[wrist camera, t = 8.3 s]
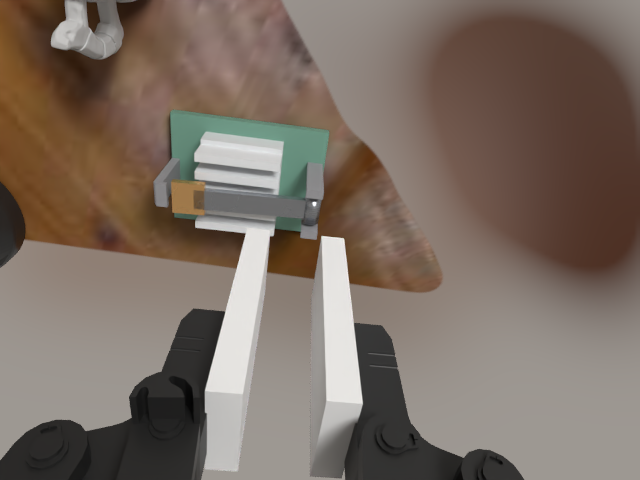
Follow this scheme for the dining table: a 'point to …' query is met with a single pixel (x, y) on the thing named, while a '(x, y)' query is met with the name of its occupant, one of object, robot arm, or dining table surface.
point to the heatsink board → (244, 166)
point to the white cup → (81, 36)
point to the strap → (240, 202)
